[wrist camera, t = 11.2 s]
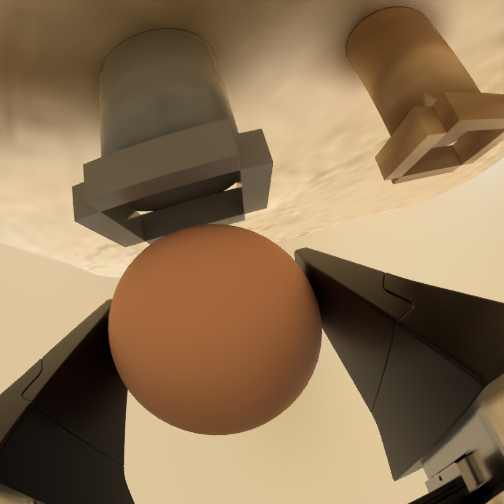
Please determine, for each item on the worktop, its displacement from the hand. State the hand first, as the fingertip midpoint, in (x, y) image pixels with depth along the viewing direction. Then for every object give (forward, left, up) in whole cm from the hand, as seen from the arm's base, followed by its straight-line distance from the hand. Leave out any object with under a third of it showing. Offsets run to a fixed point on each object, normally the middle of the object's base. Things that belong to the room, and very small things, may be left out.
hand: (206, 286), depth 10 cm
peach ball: (-1, +1, +1) cm, 2 cm away
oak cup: (+6, +8, -8) cm, 13 cm away
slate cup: (-1, +1, -8) cm, 8 cm away
